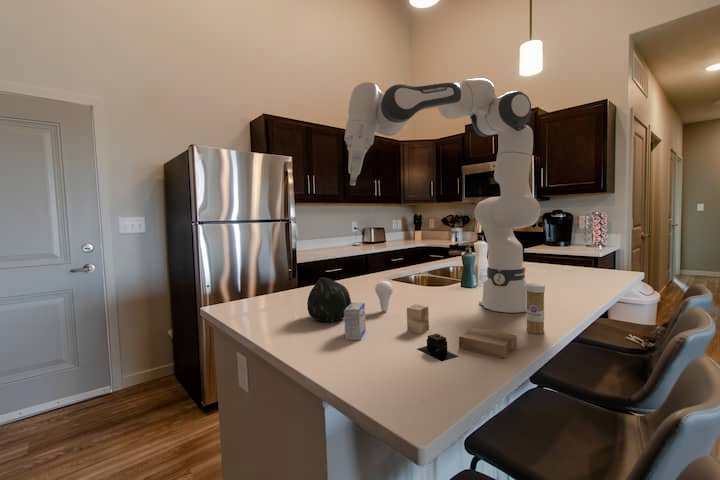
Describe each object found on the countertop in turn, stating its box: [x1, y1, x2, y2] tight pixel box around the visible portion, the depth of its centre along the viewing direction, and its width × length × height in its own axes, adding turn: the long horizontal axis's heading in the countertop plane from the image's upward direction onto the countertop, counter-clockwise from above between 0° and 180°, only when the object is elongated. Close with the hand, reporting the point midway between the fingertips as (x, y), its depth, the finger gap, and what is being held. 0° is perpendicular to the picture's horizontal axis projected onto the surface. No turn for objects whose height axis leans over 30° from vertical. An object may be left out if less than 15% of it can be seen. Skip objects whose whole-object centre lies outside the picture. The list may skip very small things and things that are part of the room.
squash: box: [306, 277, 352, 323], centre depth 116 cm, size 14×15×15 cm
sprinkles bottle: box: [525, 282, 546, 335], centre depth 97 cm, size 5×5×14 cm
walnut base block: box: [458, 326, 518, 360], centre depth 87 cm, size 9×11×3 cm
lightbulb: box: [374, 280, 394, 313], centre depth 122 cm, size 6×6×11 cm
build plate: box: [416, 333, 460, 363], centre depth 85 cm, size 12×7×5 cm, turn 30°
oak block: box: [406, 303, 430, 335], centre depth 102 cm, size 4×4×7 cm
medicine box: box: [343, 302, 367, 341], centre depth 99 cm, size 8×4×9 cm, turn 168°
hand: (353, 180), depth 103 cm, fingers open, 8 cm apart
